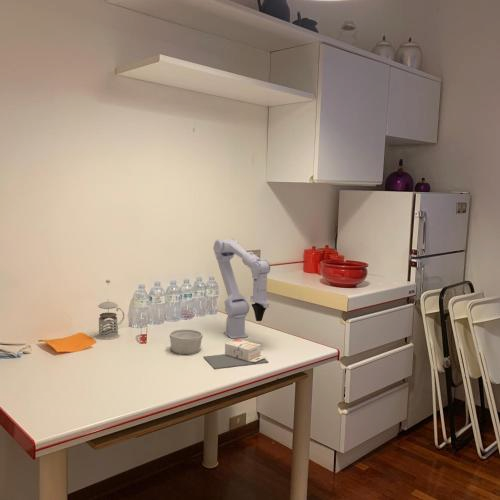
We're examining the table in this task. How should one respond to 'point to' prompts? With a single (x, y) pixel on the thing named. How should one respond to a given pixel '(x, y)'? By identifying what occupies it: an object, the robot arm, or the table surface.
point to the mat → (229, 361)
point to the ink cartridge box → (243, 350)
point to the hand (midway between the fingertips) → (258, 320)
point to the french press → (108, 321)
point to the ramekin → (185, 341)
